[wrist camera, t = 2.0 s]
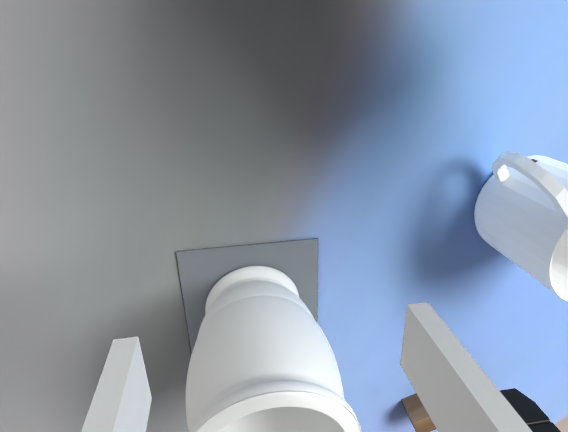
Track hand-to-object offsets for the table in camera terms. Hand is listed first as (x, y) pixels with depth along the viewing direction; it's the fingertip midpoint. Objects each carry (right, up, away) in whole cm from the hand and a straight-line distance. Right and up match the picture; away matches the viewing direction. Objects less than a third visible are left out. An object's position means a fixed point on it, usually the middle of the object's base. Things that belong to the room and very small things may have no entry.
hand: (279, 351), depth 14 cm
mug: (+21, +7, +22) cm, 31 cm away
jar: (-3, -3, +23) cm, 23 cm away
